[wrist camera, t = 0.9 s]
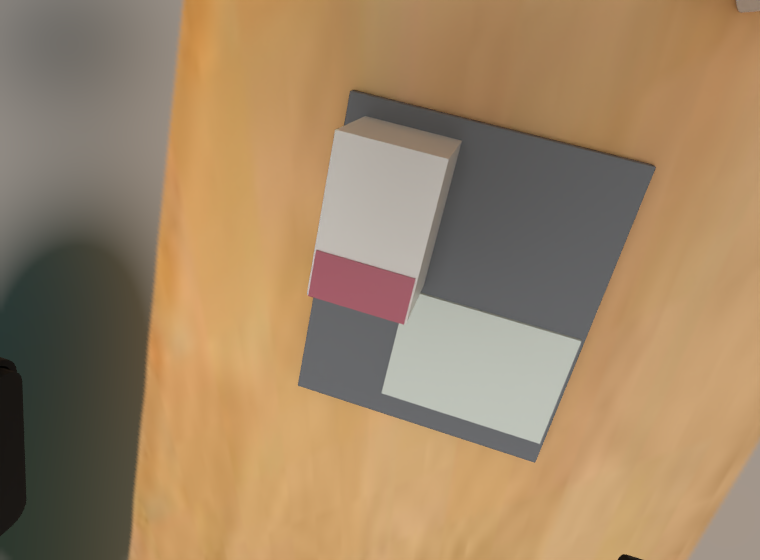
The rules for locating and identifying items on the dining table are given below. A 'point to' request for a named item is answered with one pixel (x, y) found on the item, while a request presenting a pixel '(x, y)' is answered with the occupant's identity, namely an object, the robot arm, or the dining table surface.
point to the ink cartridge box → (748, 5)
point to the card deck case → (380, 216)
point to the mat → (487, 287)
